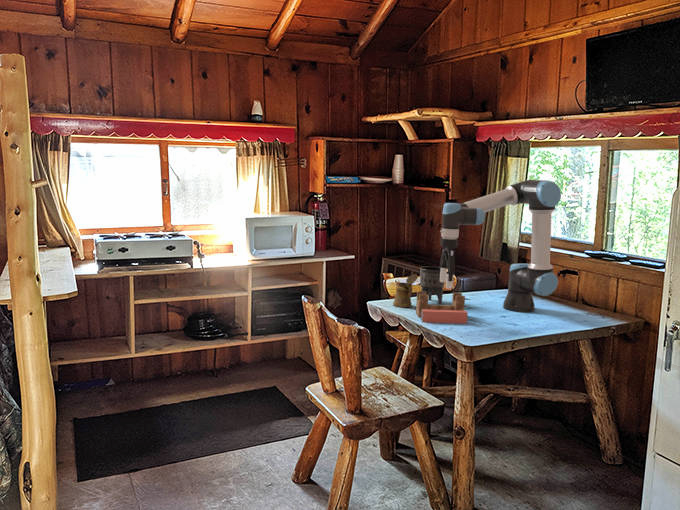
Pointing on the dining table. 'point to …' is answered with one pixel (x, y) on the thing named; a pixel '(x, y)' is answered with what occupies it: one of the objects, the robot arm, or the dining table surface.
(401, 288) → the brown jug
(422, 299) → the wooden cradle
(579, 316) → the dining table surface
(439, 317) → the rail
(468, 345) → the dining table surface
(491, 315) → the dining table surface
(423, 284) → the planter
